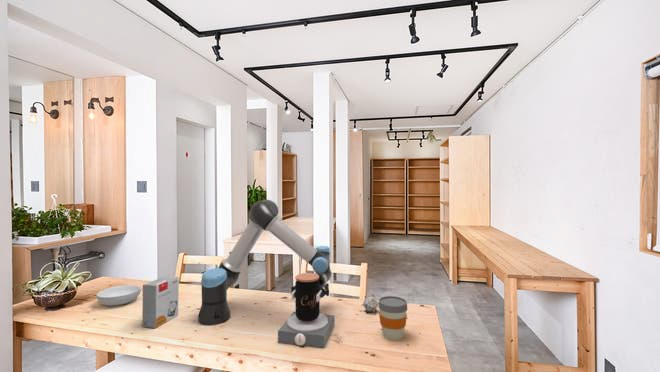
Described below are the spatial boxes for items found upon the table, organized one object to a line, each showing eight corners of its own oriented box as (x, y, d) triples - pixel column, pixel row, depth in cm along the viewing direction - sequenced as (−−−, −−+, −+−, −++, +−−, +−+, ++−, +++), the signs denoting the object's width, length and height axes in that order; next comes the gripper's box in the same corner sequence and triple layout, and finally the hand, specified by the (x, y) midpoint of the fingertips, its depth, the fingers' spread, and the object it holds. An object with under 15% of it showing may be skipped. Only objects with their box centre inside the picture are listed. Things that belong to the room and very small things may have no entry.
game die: (373, 319, 160) (379, 309, 154) (358, 312, 161) (363, 301, 155) (377, 305, 167) (382, 295, 161) (362, 299, 168) (367, 288, 162)
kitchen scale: (277, 343, 129) (276, 328, 129) (294, 321, 149) (294, 309, 149) (323, 349, 124) (323, 333, 124) (334, 325, 145) (334, 312, 145)
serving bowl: (146, 301, 176) (146, 289, 176) (102, 313, 160) (101, 300, 160) (134, 293, 190) (134, 282, 190) (92, 303, 174) (92, 291, 174)
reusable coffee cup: (393, 325, 145) (393, 294, 144) (413, 337, 134) (413, 302, 134) (372, 333, 138) (372, 299, 138) (392, 345, 127) (392, 309, 127)
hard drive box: (155, 329, 143) (154, 286, 142) (141, 327, 144) (141, 284, 144) (179, 315, 158) (178, 276, 158) (166, 313, 160) (166, 275, 159)
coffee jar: (299, 323, 130) (299, 281, 130) (292, 314, 140) (292, 274, 140) (323, 319, 135) (323, 278, 134) (314, 310, 144) (314, 271, 144)
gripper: (340, 290, 152) (330, 308, 131) (296, 287, 157) (279, 303, 136) (340, 275, 152) (330, 290, 131) (296, 272, 157) (279, 286, 136)
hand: (304, 297), depth 133 cm, fingers closed on coffee jar, 11 cm apart
